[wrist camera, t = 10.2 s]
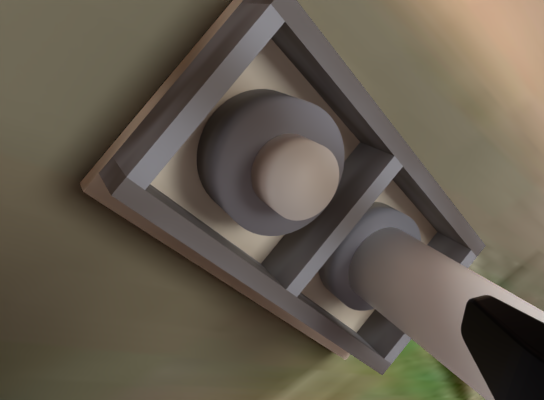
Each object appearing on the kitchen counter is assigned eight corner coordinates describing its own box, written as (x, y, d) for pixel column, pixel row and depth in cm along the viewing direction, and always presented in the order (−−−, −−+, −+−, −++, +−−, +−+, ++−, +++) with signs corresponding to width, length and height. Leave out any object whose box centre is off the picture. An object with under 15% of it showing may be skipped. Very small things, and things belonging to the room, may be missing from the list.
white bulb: (356, 311, 28) (532, 462, 19) (298, 268, 24) (479, 428, 15) (417, 234, 28) (619, 347, 19) (367, 181, 24) (584, 289, 16)
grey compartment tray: (335, 350, 30) (389, 406, 25) (79, 183, 19) (101, 234, 15) (448, 210, 30) (519, 244, 26) (257, -30, 19) (327, -37, 15)
